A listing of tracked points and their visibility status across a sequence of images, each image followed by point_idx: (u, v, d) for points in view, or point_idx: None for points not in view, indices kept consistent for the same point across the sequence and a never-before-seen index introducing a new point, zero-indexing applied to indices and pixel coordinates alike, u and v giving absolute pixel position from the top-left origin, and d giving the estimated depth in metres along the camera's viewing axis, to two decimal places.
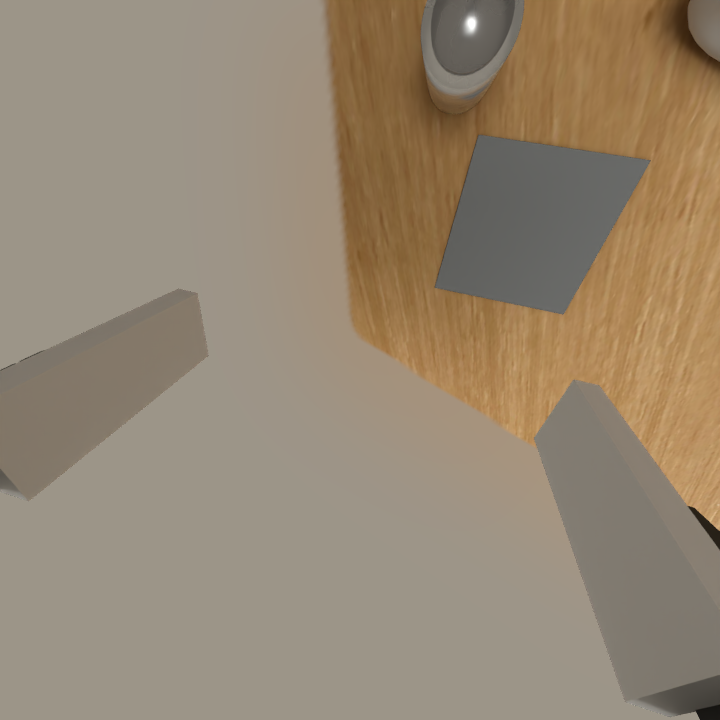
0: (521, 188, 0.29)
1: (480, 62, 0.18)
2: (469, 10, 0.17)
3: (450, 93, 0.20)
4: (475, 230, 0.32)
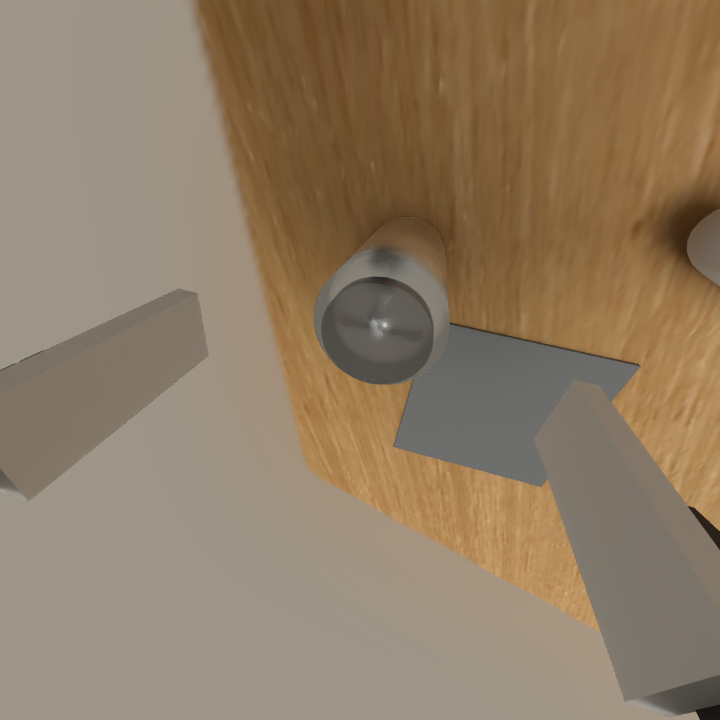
0: (486, 374, 0.24)
1: (394, 378, 0.12)
2: (371, 330, 0.12)
3: None
4: (435, 404, 0.27)
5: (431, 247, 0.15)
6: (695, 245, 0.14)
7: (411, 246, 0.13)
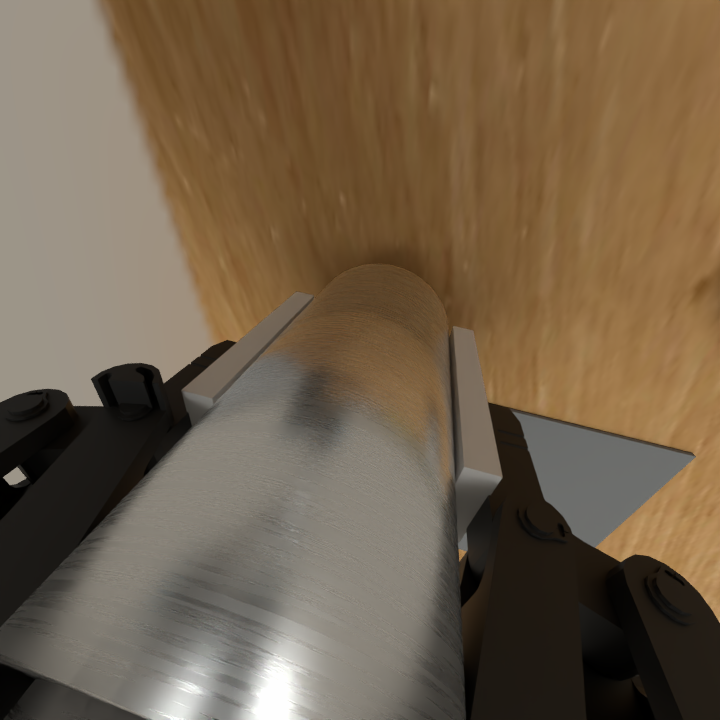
0: None
1: None
2: None
3: None
4: None
5: (414, 372, 0.06)
6: None
7: (347, 420, 0.04)
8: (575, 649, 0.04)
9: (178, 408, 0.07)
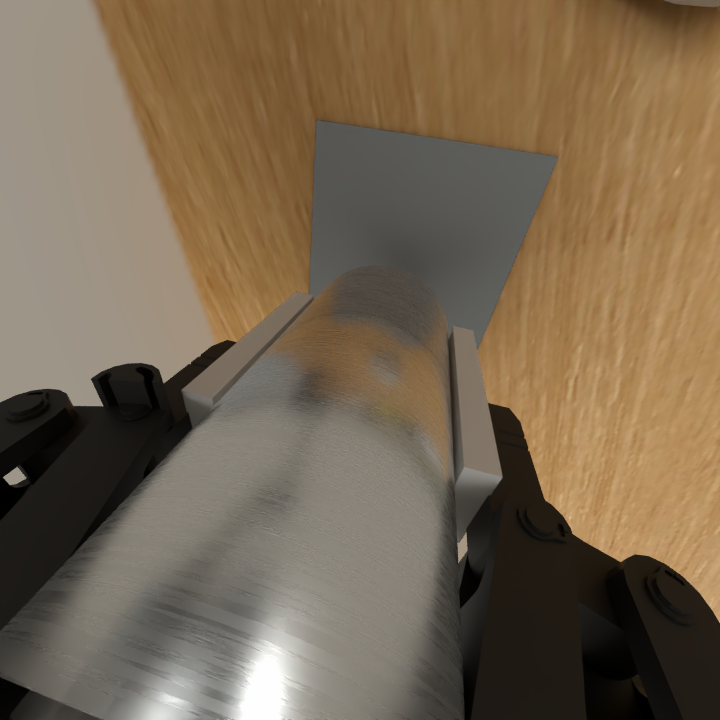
0: (388, 196, 0.21)
1: None
2: None
3: None
4: (340, 253, 0.24)
5: (414, 376, 0.06)
6: None
7: (346, 426, 0.04)
8: (574, 649, 0.04)
9: (178, 408, 0.07)
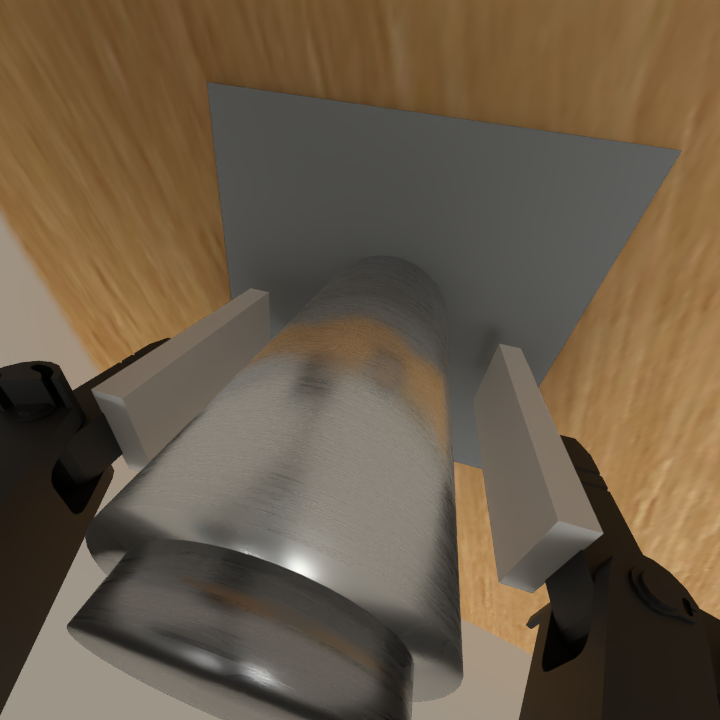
0: (347, 223, 0.12)
1: None
2: (214, 692, 0.04)
3: None
4: (278, 310, 0.14)
5: (417, 342, 0.07)
6: None
7: (363, 370, 0.05)
8: None
9: (93, 408, 0.07)
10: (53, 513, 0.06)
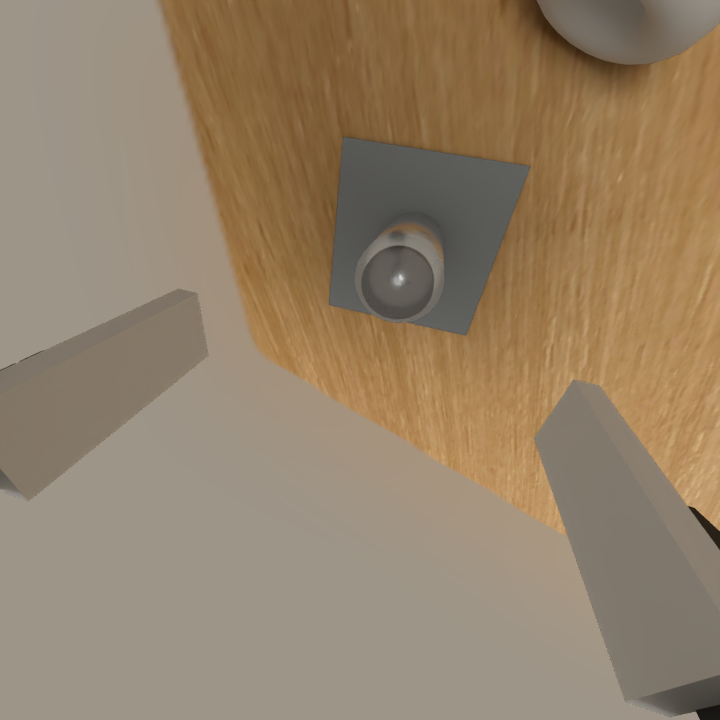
0: (398, 197, 0.26)
1: (408, 314, 0.19)
2: (394, 280, 0.18)
3: None
4: (359, 243, 0.29)
5: (432, 231, 0.22)
6: None
7: (418, 229, 0.20)
8: None
9: None
10: None
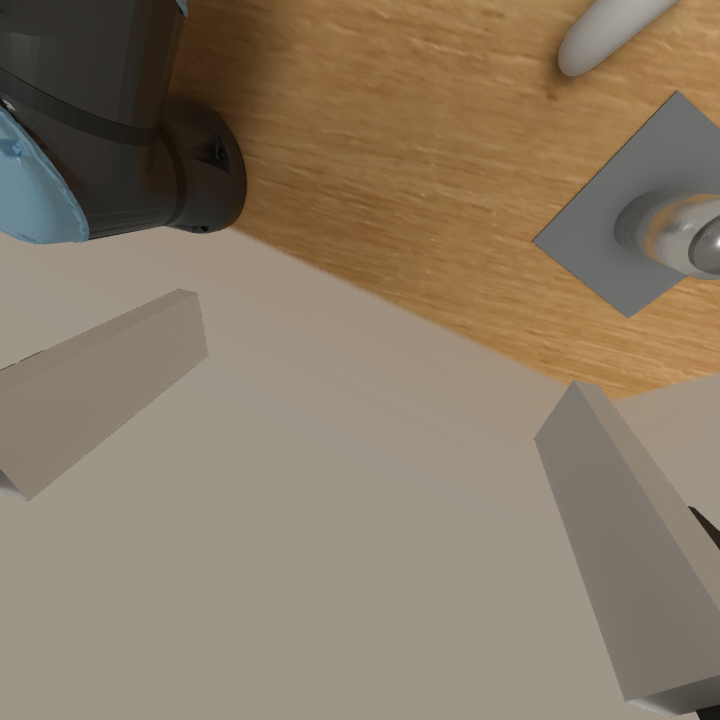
0: (601, 217, 0.32)
1: None
2: None
3: None
4: (605, 265, 0.34)
5: (681, 197, 0.25)
6: None
7: (682, 208, 0.24)
8: None
9: None
10: None
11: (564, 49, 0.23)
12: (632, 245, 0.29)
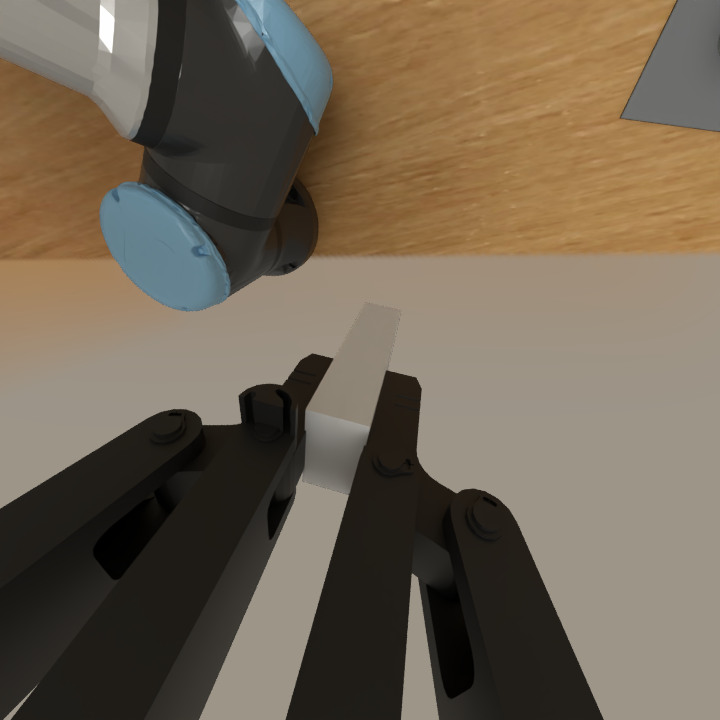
0: (697, 49, 0.28)
1: None
2: None
3: None
4: None
5: None
6: None
7: None
8: (410, 558, 0.05)
9: None
10: (260, 541, 0.06)
11: None
12: None
